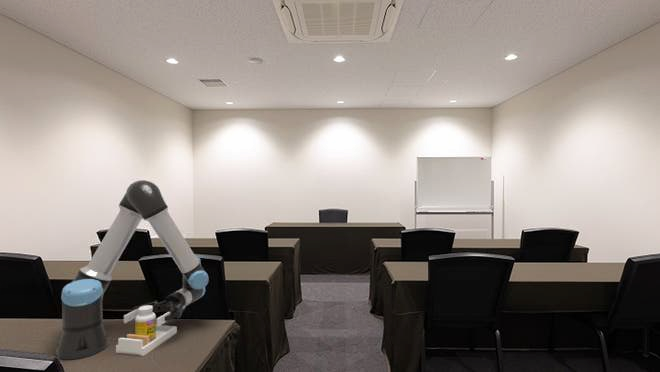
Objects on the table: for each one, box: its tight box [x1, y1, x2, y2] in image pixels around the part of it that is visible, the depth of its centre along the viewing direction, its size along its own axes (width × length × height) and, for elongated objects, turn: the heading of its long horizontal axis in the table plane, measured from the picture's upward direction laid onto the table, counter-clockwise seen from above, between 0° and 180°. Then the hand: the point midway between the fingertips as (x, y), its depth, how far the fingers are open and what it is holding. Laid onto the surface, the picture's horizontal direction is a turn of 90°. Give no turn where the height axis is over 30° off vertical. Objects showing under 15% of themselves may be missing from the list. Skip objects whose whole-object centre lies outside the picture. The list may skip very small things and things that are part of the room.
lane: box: [115, 324, 178, 357], centre depth 129 cm, size 11×18×5 cm, turn 169°
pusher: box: [126, 333, 149, 347], centre depth 124 cm, size 8×1×4 cm, turn 79°
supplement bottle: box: [134, 305, 157, 343], centre depth 127 cm, size 7×7×13 cm
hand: (140, 321), depth 125 cm, fingers open, 13 cm apart
